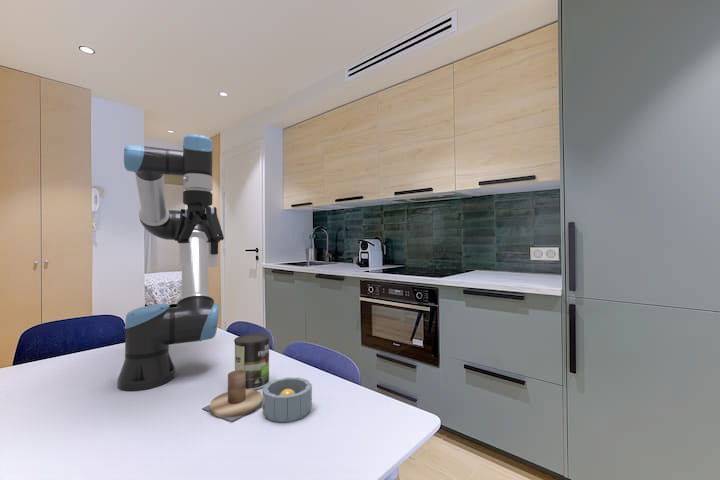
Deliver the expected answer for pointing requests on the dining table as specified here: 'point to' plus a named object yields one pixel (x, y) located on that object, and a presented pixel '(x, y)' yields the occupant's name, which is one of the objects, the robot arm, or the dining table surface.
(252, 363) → the coffee can
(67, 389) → the dining table surface
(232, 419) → the mat
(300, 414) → the bowl
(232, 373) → the lid
